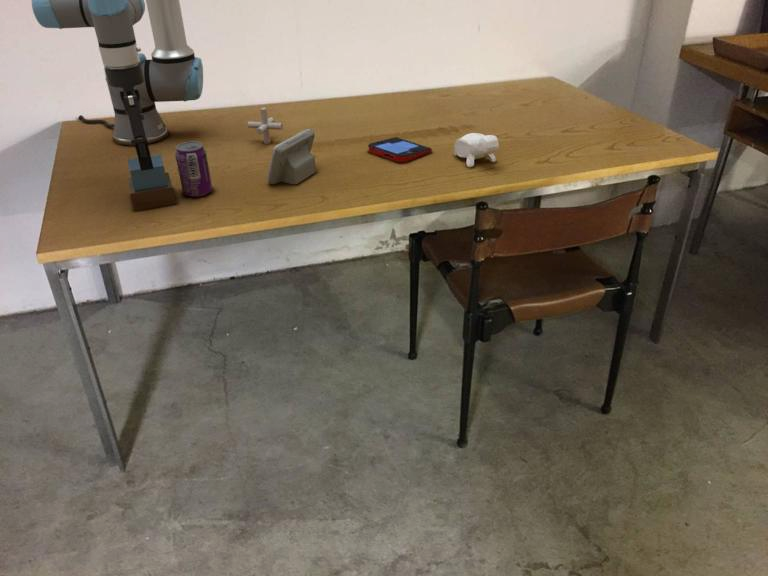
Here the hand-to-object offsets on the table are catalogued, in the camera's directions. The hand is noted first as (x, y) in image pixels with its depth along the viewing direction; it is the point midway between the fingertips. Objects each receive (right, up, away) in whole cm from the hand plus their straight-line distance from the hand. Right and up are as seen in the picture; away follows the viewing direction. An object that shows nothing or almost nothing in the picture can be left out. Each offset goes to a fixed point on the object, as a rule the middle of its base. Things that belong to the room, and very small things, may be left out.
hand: (144, 158), depth 148 cm
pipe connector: (+22, +12, +38) cm, 45 cm away
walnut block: (0, -9, +5) cm, 10 cm away
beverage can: (+10, -7, +9) cm, 15 cm away
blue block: (0, -5, +3) cm, 6 cm away
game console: (+60, +8, +30) cm, 67 cm away
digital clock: (+32, -1, +17) cm, 36 cm away
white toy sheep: (+81, +4, +23) cm, 84 cm away
